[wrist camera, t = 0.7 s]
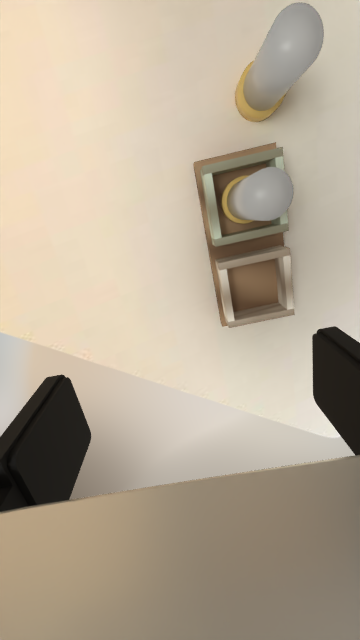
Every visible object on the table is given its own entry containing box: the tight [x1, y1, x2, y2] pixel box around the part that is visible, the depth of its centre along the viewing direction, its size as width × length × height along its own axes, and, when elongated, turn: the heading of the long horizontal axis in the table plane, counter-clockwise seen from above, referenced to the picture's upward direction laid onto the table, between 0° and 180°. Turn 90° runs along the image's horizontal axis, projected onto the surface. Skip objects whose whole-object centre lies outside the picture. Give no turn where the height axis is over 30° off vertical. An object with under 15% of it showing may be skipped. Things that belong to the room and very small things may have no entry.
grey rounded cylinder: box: [235, 3, 324, 122], centre depth 25 cm, size 5×5×10 cm
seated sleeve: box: [220, 167, 293, 224], centre depth 27 cm, size 5×5×10 cm
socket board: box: [193, 143, 295, 328], centre depth 33 cm, size 20×9×4 cm, turn 12°
